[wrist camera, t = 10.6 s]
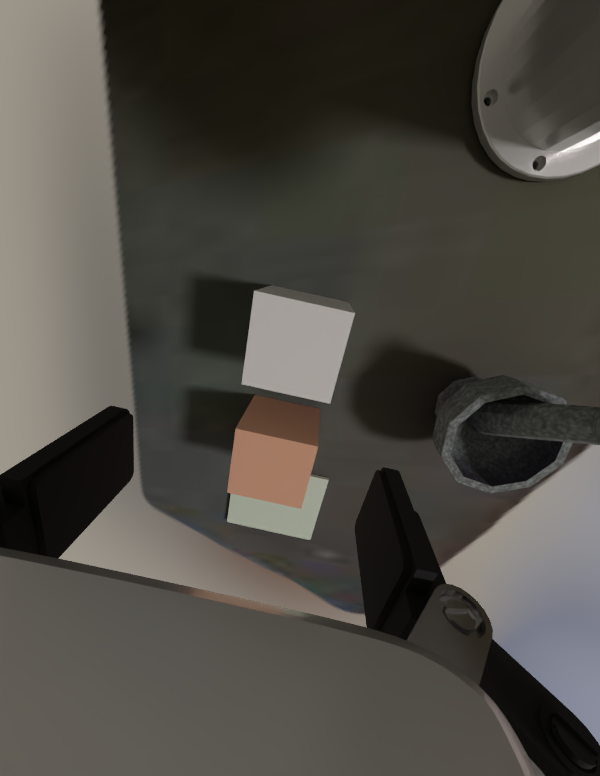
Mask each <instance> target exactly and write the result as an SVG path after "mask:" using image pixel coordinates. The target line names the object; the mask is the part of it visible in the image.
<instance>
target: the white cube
mask: <svg viewBox="0 0 600 776" xmlns="http://www.w3.org/2000/svg"><path fill="white" fill-rule="evenodd" d="M354 315H355V313H354V311H353V309H352V308H351V306H350V305H349V303H348V302H345V301H341V300H336V299H332V298H327V297H323V296H318V295H314V294H309V293H305V292H300V291H296V290H291V289H287V288H282V287H278V286H273V285H271V286H268V287H264V288H261V289H258V290H255V291H254V295H253V302H252V310H251V317H250V325H249V332H248V340H247V347H246V355H245V362H244V370H243V377H242V384H244V385H248V386H253V387H257V388H262V389H266V390H271V391H275V392H280V393H284V394H289V395H293V396H298V397H302V398H307V399H311V400H316V401H320V402H325V403H329V404H330V402H331V398H332V395H333V391H334V387H335V384H336V380H337V376H338V373H339V369H340V366H341V362H342V358H343V355H344V351H345V347H346V344H347V340H348V336H349V333H350V329H351V325H352V322H353V318H354Z"/></svg>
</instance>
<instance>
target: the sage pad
mask: <svg viewBox="0 0 600 776" xmlns="http://www.w3.org/2000/svg"><path fill="white" fill-rule="evenodd" d="M328 480H329V478H327V477H323V476H318V475H314V474H311V475H310V479H309V482H308V486H307V490H306V493H305V497H304V501H303V504H302V508H301V509H300V508H295V507H290V506H286V505H281V504H277V503H272V502H268V501H263V500H259V499H254V498H249V497H245V496H240V495H236V494H231V496H230V503H229V510H228V517H227V522H230V523H234V524H239V525H244V526H248V527H253V528H257V529H262V530H266V531H271V532H275V533H280V534H285V535H289V536H294V537H298V538H303V539H307V540H310V539H311V536H312V533H313V529H314V526H315V523H316V519H317V516H318V513H319V510H320V506H321V503H322V500H323V497H324V493H325V490H326V487H327V484H328Z"/></svg>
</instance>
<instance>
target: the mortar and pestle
mask: <svg viewBox="0 0 600 776" xmlns="http://www.w3.org/2000/svg"><path fill="white" fill-rule="evenodd" d="M435 414H436V416H437V418H436V422H435V427H434V431H433V436H432V438H433V441H434V444H435V447H436V449H437V451H438V452H439V454H440V455H441V457H442V459H443V460H444V462H445V464H446V465H447V467H448V468H449V470H450V472H451V473H452V475H453V476H454V478H455V480H456V481H457V482H458V483H461V484H464V485H467V486H470V487H473V488H476V489H479V490H482V491H485V492H488V493H495V492H501V491H508V490H514V489H520V488H526V487H530V486H532V485H533V484H535V483H536V482H538V481H539V480H540V479H542V478H543V477H545V476H546V475H548V474H549V473H551V472H552V471H554V470H555V469H557V468H558V467H559V466H561V465H562V464H564V461H565V459H566V457H567V455H568V452H569V450H570V448H571V446H572V443H583V444H595V445H600V407H588V406H576V405H567V403H566V401H565V399H564V398H562V397H560V396H558V395H556V394H554V393H553V392H550V391H547V390H545V389H542V388H539V387H536V386H534V385H531V384H528V383H526V382H523V381H520V380H517V379H514V378H511V377H508V376H505V375H501V376H496V377H491V378H487V379H481V378H479V377H476V376H473V377H469V378H465V379H460V380H456V381H453V382H452V383H451V384H450V385H449V386H448V387H447V388H446V389H445V390H443V391H442V392H441V393H440V394H439V395H438V399H437V404H436V408H435Z"/></svg>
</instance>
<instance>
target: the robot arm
mask: <svg viewBox="0 0 600 776" xmlns="http://www.w3.org/2000/svg"><path fill="white" fill-rule="evenodd" d="M484 101H486V102H487V104H488V105H487V106H486V105H485V103H484ZM472 112H473V119H474V126H475V129H476V132H477V135H478V137H479V140H480V143H481V145H482V146H483V148H484V150H485V151H486V153H487V155H488V156H489V158H490V159H491V160H492V161H493V162H494V163H495V164H496V165H497V166H498V167H499V168H500V169H502V170H503V171H505V172H507V173H509V174H510V175H512V176H514V177H517V178H520V179H524V180H527V181H538V182H548V181H554V180H560V179H565V178H568V177H571V176H574V175H577V174H580V173H583V172H585V171H587V170H589V169H591V168H594V167H596V166H598V165H600V0H502V1H501V2H500V4H499V6H498V7H497V9H496V11H495V13H494V15H493V17H492V19H491V21H490V23H489V26H488V28H487V30H486V32H485V34H484V37H483V40H482V43H481V46H480V49H479V52H478V56H477V59H476V64H475V70H474V75H473V81H472ZM533 164H534V169H533V167H532V165H533ZM133 452H134V451H133V416H132V415H131V414H130V413H129V411H128V410H127V409H124V408H119V407H115V406H109V407H107V408H106V409H104V410H103V411H101V412H99V413H98V414H96V415H95V416H93V417H92V418H90V419H88V420H87V421H85V422H84V423H82V424H80V425H79V426H78V427H76V428H74V429H72V430H71V431H69V432H68V433H66V434H65V435H63V436H61V437H60V438H58V439H57V440H55V441H53V442H52V443H50V444H49V445H47V446H45V447H44V448H42V449H41V450H39V451H37V452H36V453H34V454H33V455H31V456H30V457H28V458H26V459H25V460H23V461H22V462H20V463H18V464H17V465H15V466H14V467H12V468H10V469H9V470H7V471H6V472H4V473H2V474H1V475H0V776H600V746H599V744H598V742H597V741H596V739H595V738H594V737H593V736H592V734H591V733H590V732H589V730H588V729H587V728H586V726H584V724H583V723H582V722H581V721H580V720H579V719H578V718H577V717H576V716H575V715H574V714H573V713H572V712H571V711H570V710H569V709H568V708H566V706H564V705H563V704H562V703H561V702H560V701H559V700H558V699H557V698H556V697H555V696H554V695H552V694H551V693H550V692H549V691H548V690H547V689H546V688H545V687H544V686H543V685H542V684H541V683H539V682H538V681H537V680H536V679H535V678H534V677H533V676H532V675H531V674H530V673H529V672H527V671H526V670H525V669H524V668H523V667H522V666H521V665H520V664H519V663H518V662H517V661H516V660H515V659H513V658H512V657H511V656H510V655H509V654H508V653H507V652H506V651H505V650H504V649H503V648H501V647H500V646H499V645H498V644H497V643H496V642H495V641H494V640H493V639H492V632H493V630H492V626H491V623H490V620H489V618H488V616H487V614H486V612H485V611H484V609H483V608H482V607H481V606H480V605H479V603H478V602H477V601H476V600H475V599H474V598H473V597H472V596H471V595H470V594H468V593H467V592H465V591H464V590H462V589H461V588H459V587H456V586H454V585H450V584H446V582H445V580H444V577H443V575H442V572H441V569H440V567H439V564H438V562H437V559H436V557H435V554H434V552H433V549H432V547H431V544H430V542H429V539H428V537H427V534H426V531H425V529H424V526H423V524H422V521H421V519H420V517H419V515H418V513H417V512H416V511H414V509H413V506H412V504H411V501H410V499H409V496H408V493H407V491H406V488H405V485H404V483H403V480H402V478H401V475H400V473H399V471H397V470H393V469H389V468H384V467H383V468H382V469H381V471H380V470H377V471H376V472H375V475H374V477H373V480H372V482H371V485H370V487H369V490H368V492H367V495H366V497H365V500H364V502H363V505H362V508H361V510H360V513H359V515H358V518H357V520H356V524H355V536H356V544H357V552H358V560H359V568H360V576H361V585H362V593H363V601H364V609H365V616H366V625H367V628H366V627H361V626H358V625H354V624H350V623H345V622H341V621H337V620H333V619H329V618H325V617H321V616H317V615H313V614H308V613H304V612H299V611H295V610H290V609H286V608H281V607H277V606H273V605H269V604H264V603H260V602H255V601H251V600H246V599H241V598H237V597H233V596H228V595H224V594H219V593H215V592H210V591H206V590H201V589H197V588H192V587H187V586H183V585H178V584H174V583H169V582H164V581H160V580H156V579H151V578H146V577H142V576H137V575H133V574H128V573H123V572H118V571H113V570H109V569H104V568H99V567H95V566H89V565H85V564H81V563H76V562H72V561H67V560H62V559H58V558H59V557H60V556H61V555H62V553H64V552H65V550H66V549H67V548H68V547H69V546H70V545H71V544H72V543H73V542H74V541H75V539H77V537H78V536H79V535H80V534H81V533H82V532H83V531H84V530H85V529H86V528H87V527H88V526H89V525H90V523H91V522H92V521H93V520H94V519H95V518H96V517H97V516H98V515H99V514H100V513H101V512H102V510H103V509H104V508H105V507H106V506H107V505H108V504H109V503H110V502H111V501H112V500H113V499H114V497H115V496H116V495H117V494H118V493H119V492H120V491H121V490H122V489H123V487H125V486H126V485H127V483H128V482H129V481H130V480H131V478H132V476H133V473H134V453H133Z"/></svg>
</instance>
